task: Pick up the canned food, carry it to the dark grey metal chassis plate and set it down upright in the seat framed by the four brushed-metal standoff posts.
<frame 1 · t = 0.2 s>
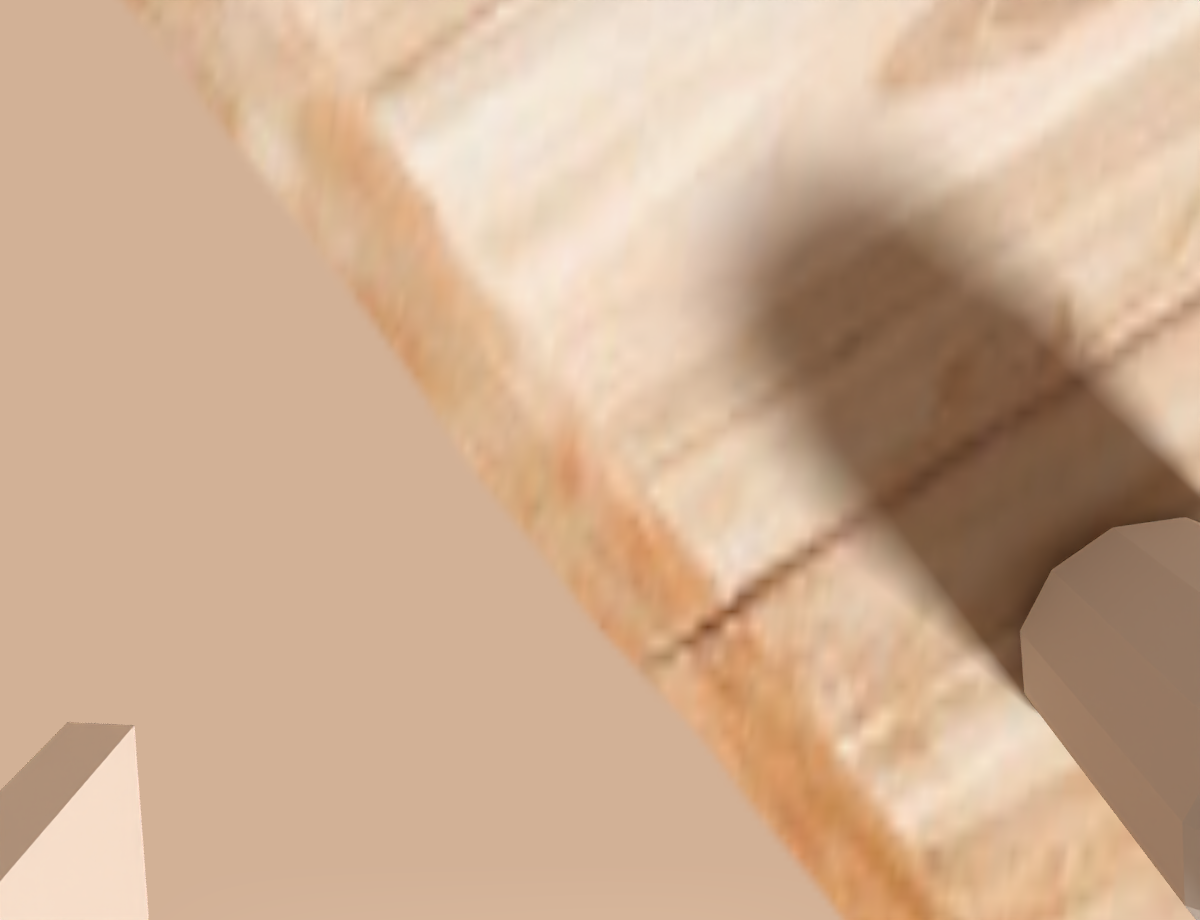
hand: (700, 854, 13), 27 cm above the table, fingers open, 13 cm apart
jar: (1137, 629, 42), on the table
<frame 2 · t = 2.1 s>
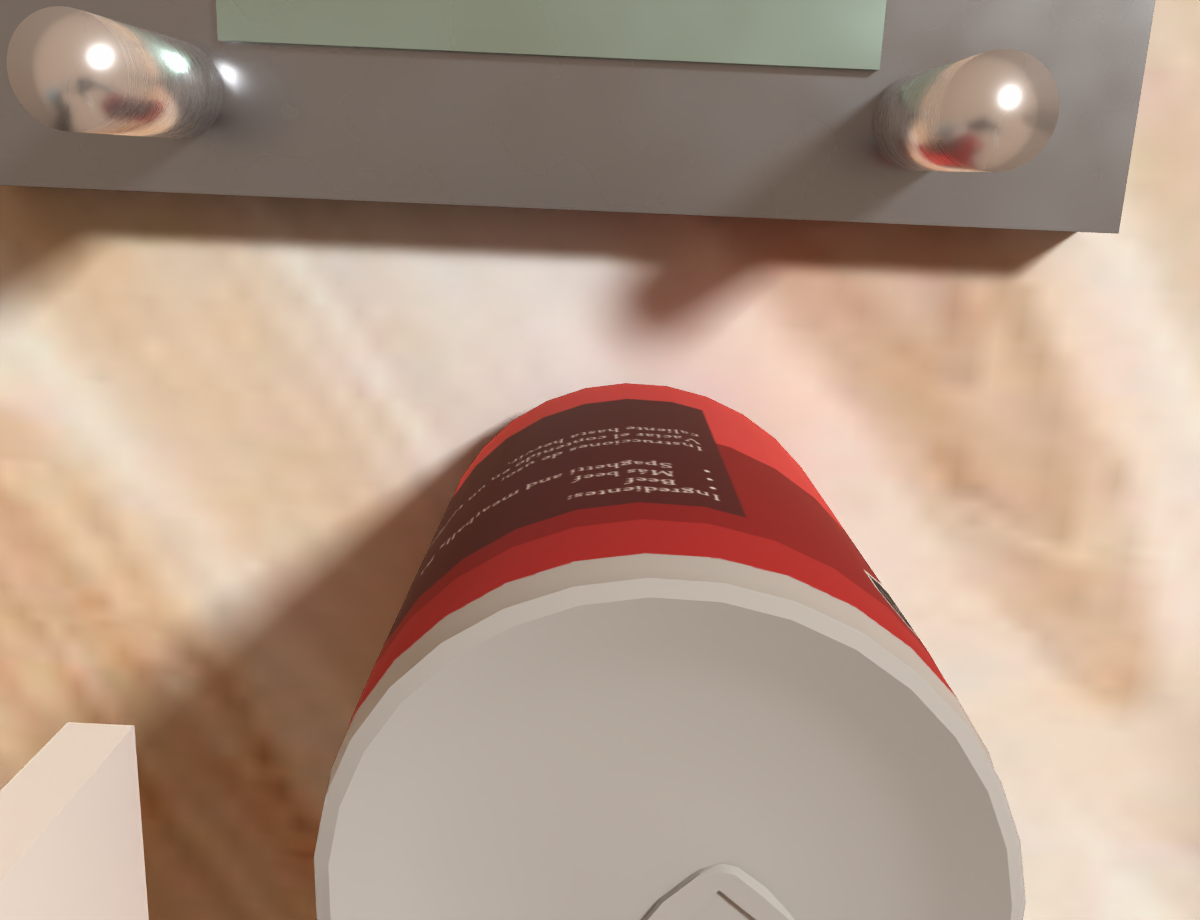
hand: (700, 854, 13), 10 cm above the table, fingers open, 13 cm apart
canned food: (637, 559, 23), on the table
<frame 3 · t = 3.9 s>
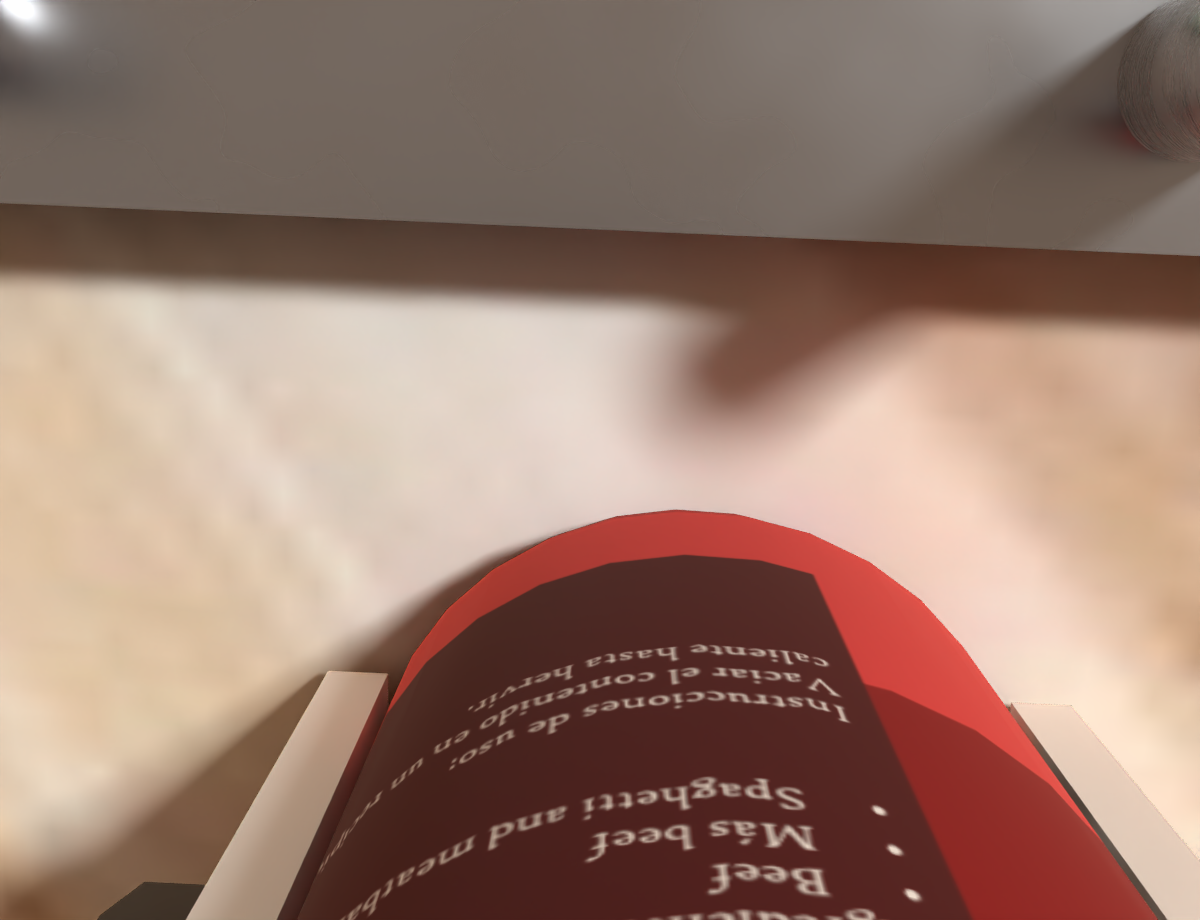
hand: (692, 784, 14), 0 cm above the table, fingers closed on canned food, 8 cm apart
canned food: (689, 765, 15), on the table, touching gripper
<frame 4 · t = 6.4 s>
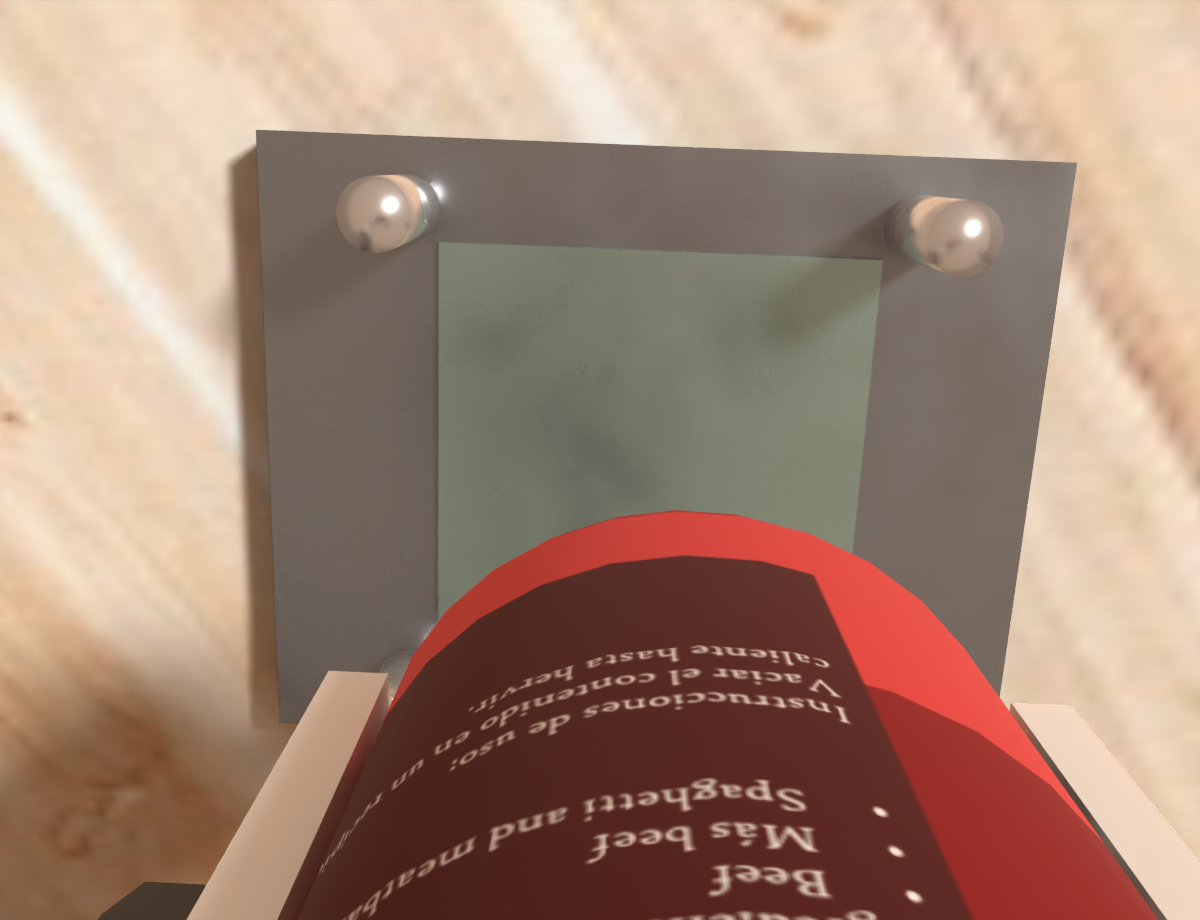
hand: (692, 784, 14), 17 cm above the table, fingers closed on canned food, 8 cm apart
canned food: (690, 766, 15), point 16 cm above the table, touching gripper
chassis: (647, 448, 31), on the table
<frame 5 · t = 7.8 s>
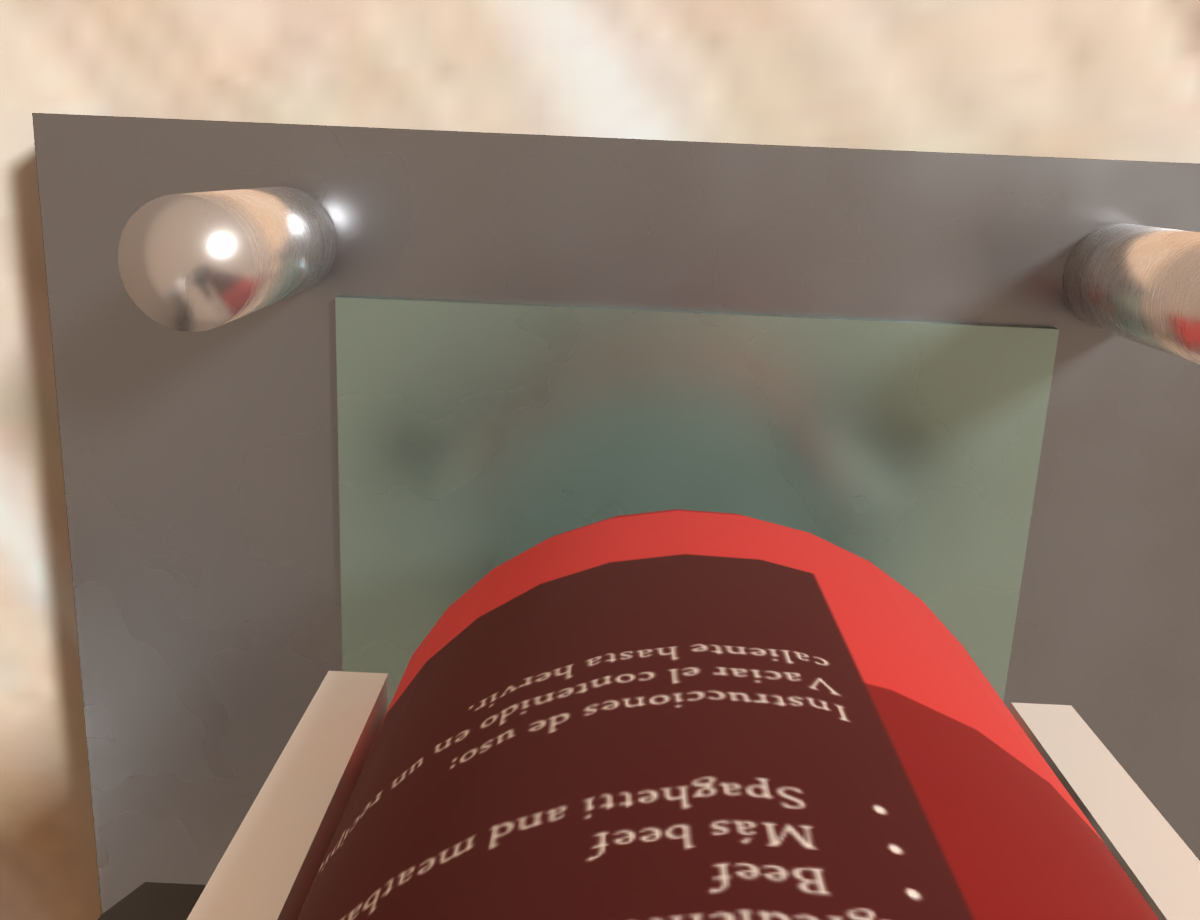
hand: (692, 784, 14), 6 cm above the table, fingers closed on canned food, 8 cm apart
canned food: (689, 765, 15), point 5 cm above the table, touching gripper
chassis: (670, 606, 20), on the table
when the fingers open (3 cm above the table, at t = 8.8 s): canned food stays where it is, resting on chassis.
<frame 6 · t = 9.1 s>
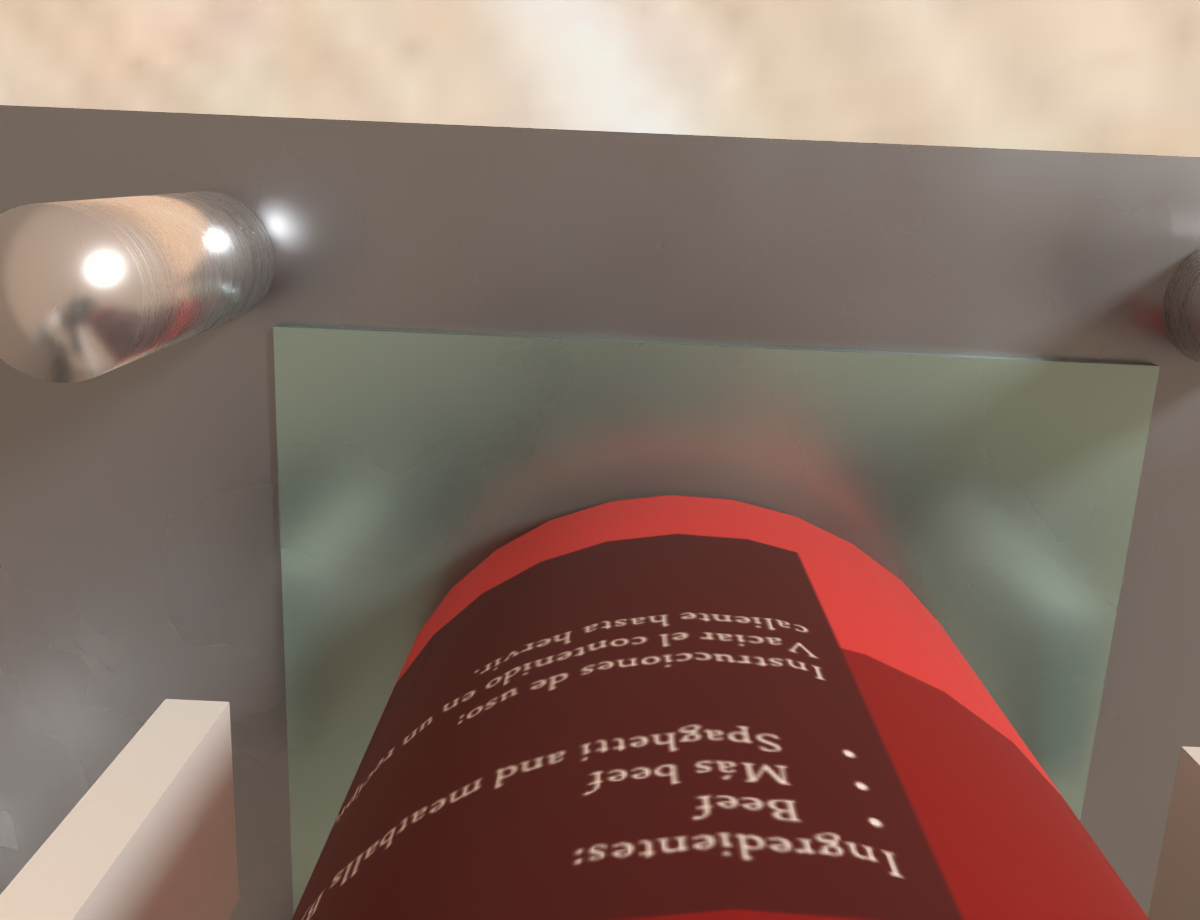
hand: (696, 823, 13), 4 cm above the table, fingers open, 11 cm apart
canned food: (682, 739, 15), point 2 cm above the table, touching chassis
chassis: (681, 687, 17), on the table
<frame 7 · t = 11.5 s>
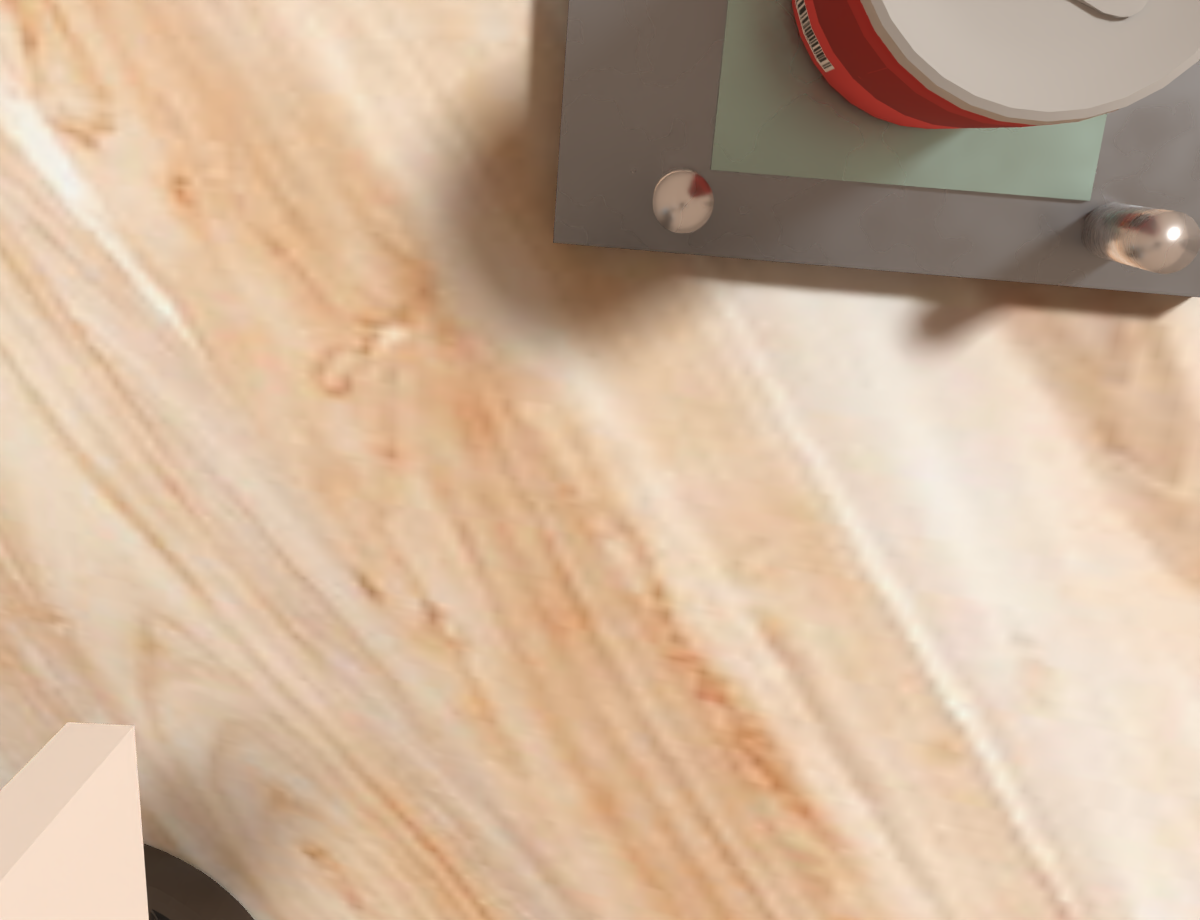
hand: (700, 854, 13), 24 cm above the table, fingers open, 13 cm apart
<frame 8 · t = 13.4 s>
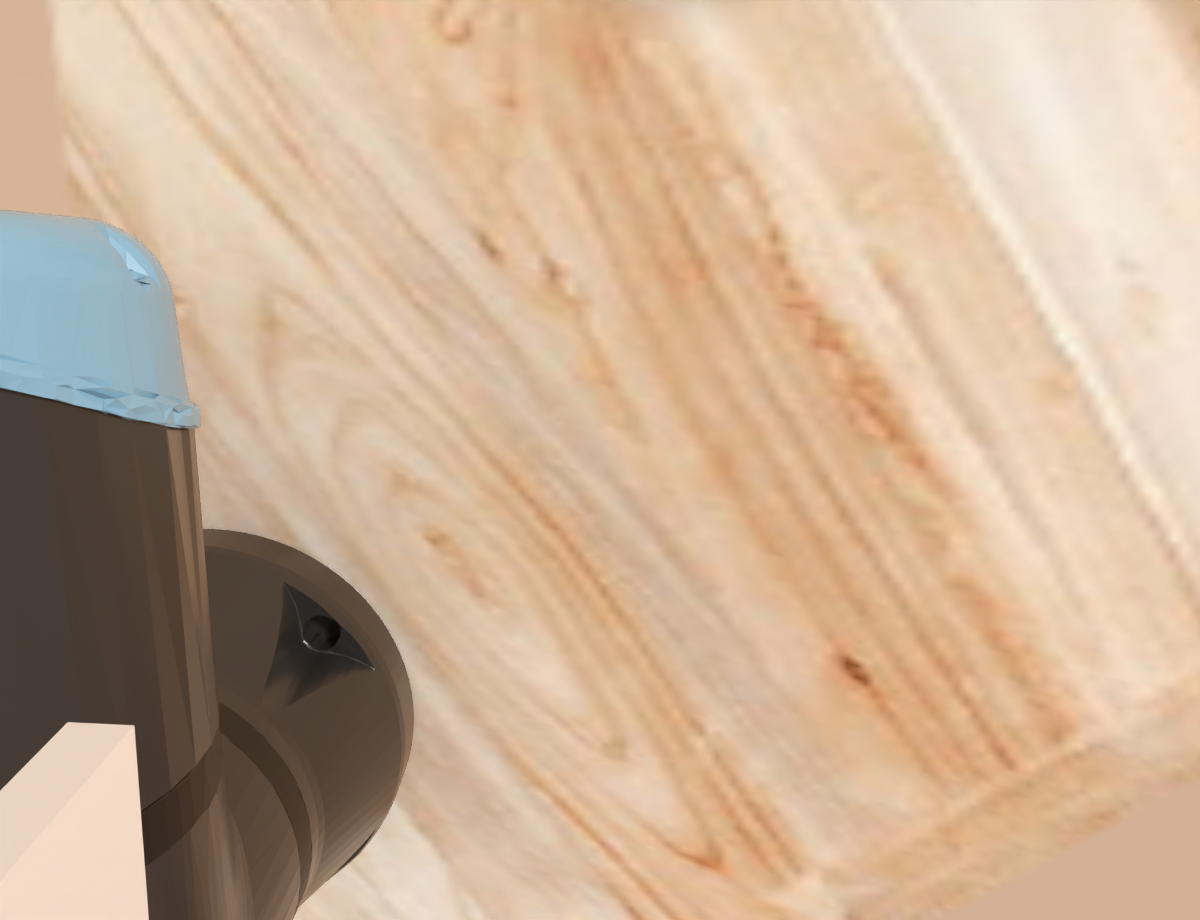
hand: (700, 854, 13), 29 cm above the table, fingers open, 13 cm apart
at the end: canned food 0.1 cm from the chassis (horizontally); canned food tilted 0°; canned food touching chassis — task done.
